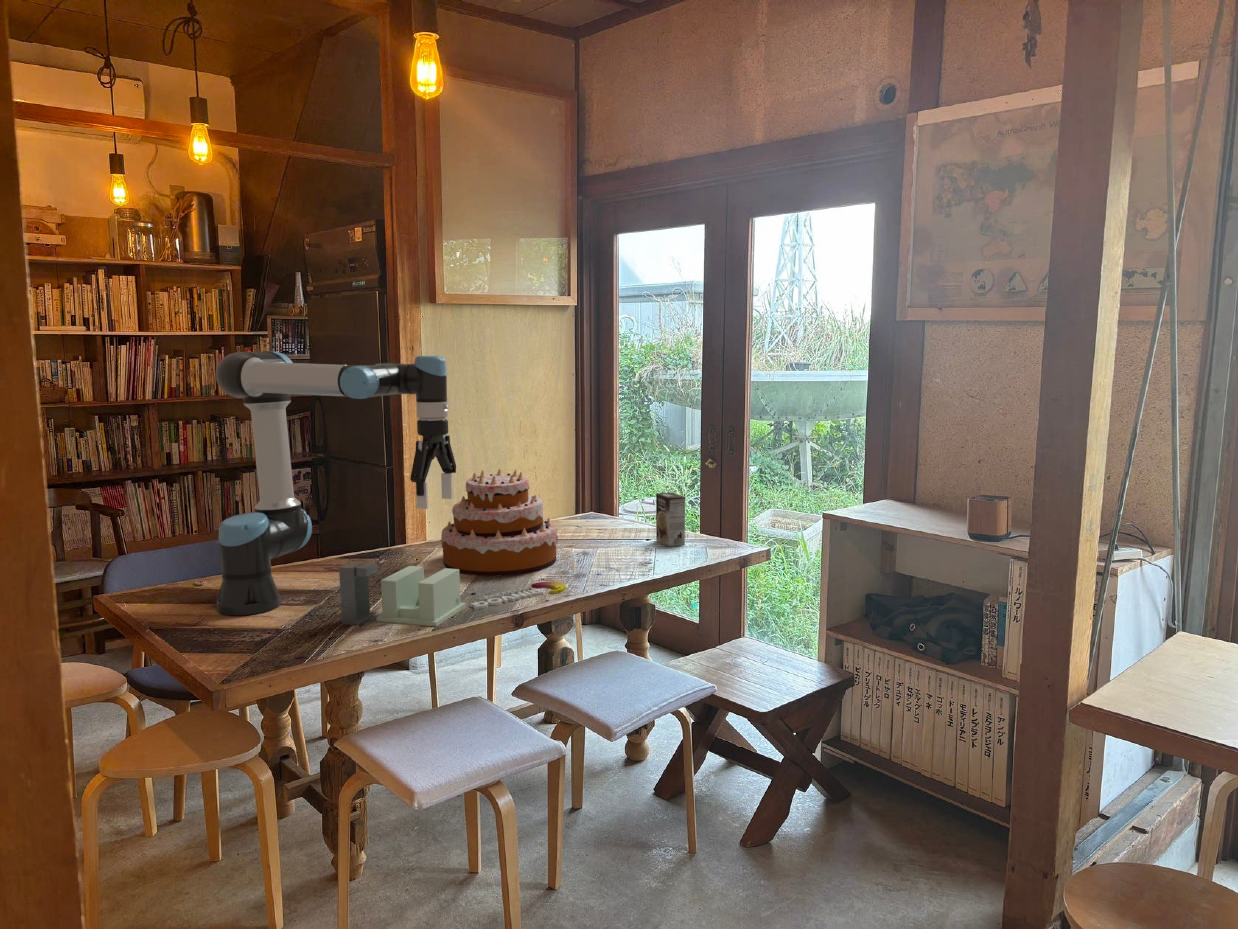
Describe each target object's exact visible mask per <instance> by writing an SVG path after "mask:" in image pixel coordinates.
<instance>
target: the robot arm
mask: <svg viewBox="0 0 1238 929" xmlns="http://www.w3.org/2000/svg"><path fill="white" fill-rule="evenodd" d="M446 364H447V362H446V359H445V357H444V356H442V355H417V356H415V357H414V362H413V363H389V362H386V363H385V362H384V363H383V362H382V363H376V364H373V365H372V364H370V365H366V364H365V365H363V364H361V365H360V364H357V365H354V364H333V363H331V364H330V363H329V364H327V363H303V362H301V363H299V362H293V361H292V360H291V358H289V357H288V356H287V355H286V354H284V353H281V352H278V351H271V350H263V351H241V352H240V351H237V352H233V353H229V354H228V355H227V354H226V355H225V357H223V358H222V359H221V360H220V361H219V362H218V364H217V367H216V369H215V379H216V382H217V385H218V387H219V388H220V390H222V392H223V393H225V394H226V395H227V396H229V397H231V398H232V397H233V398H235V399H242V400H243V406H245V407H246V408H248V409H249V410H250V415H251V426H252V436H253V442H254V443H253V445H254V446H253V447H254V456H255V463H256V464H255V465H256V474H257V483H258V484H257V485H258V493H259V494H258V495H259V501H258V502H257V503H256V505H255V506H254V512H244V513H242V514H236V515H232V516H230V517H228V518H225V519H224V520H223V521H221V523H220V524H219V527H218V543H219V556H220V564H221V565H220V567H221V568H220V569H221V576H222V577H221V578H222V579H221V585H220V587H219V588H220V589H219V592H218V595H217V596H218V597H217V600H216V611H217V612H218V613H219V614H221V615H225V616H248V615H255V614H261V613H266V612H269V611H272V610H274V609H276V608H278V607H279V606H281V603H282V602H281V594H280V591H278V587H277V585H276V583H275V580H274V578H273V574H272V563H271V561H272V560H273V559H276V558H279V557H281V556H284V555H286V554H287V555H288V554H291V553H294V552H296V551H298V550H299V549H301V548H303V547H304V546H306V544H307V543H308V542H309V540H310V539H311V536H312V532H313V525H312V520H311V519H312V518H311V517H310V515H309V514H307V511H306V510H304V509H303V508H302V503H301V501H300V500H298V499H297V498H296V497H295V494H294V481H293V474H292V473H293V472H292V470H293V469H292V460H291V451H290V441H289V430H288V421H287V410H286V408H287V407H288V405H290V404H291V402H292V398H291V395H305V396H327V397H328V396H329V397H349V398H351V399H354V400H355V399H356V400H357V399H358V400H364V399H368V398H374V397H382V396H391V395H415V398H416V400H415V401H416V402H415V403H416V404H415V406H416V418H418V420H417V421H416V429H417V430H416V433H417V435H419V436H422V440H416V442H415V452H414V456H413V462H412V468H411V472H410V478H409V479H410V481H411V483H415V496H416V501H415V502H416V509H420V510H428V509H429V491H428V490H429V488H428V482H427V481H426V480H427V477H428V474H429V471H430V467H431V464H432V462H433V460H435V458H436V460H437V463H438V464H439V466H440V468H441V471H442V473H441V474H440V479H441V485H440V486H441V499H442V500H443V499H445V500H446V499H447V500H453V498H454V494H453V493H454V491H453V474H456V473H457V465H456V460H455V456H454V452H453V450H452V446H451V445H452V444H451V438H450V435H448V434H449V420H448V419H447V417H448V416H449V415H448V414H449V412H448V410H449V405H448V393H447V392H448V390H447V387H448V386H447V382H448V381H447V379H448V378H447V375H448V372H447V365H446Z"/></svg>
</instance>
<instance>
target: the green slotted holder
mask: <svg viewBox="0 0 1238 929" xmlns="http://www.w3.org/2000/svg"><path fill="white" fill-rule="evenodd" d="M424 568H425V567H424V566H420V565H419V566H418V565H416V566H415V565H409V566H407V567H403V568H402V569H400V570H398V571H396V572H394V573H392V574H390V575H388V576H386V577H384V578H382V579H381V580H380V593H381V611H382V612H381V614H380V615H378V616H376V622H384V623H394V624H396V623H397V624H407V625H418V626H430V627H438V626H440V625H441V624H442V623H444V622H445V621H447V620H448V619H450V618H451V617H453V616H454V615H456V614H457V613H459V612H460V611H462V610H464V609H465V608H466V607H467V603H466V602H461V580H460V573H459V569H448V568H446V567H444V568H443V569H441V570H439V571H437V572H435V573H433V574H432V575H430V576H428V577H427V578H425V572H424V570H425V569H424Z"/></svg>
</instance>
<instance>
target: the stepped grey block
mask: <svg viewBox="0 0 1238 929" xmlns="http://www.w3.org/2000/svg"><path fill="white" fill-rule="evenodd" d="M338 571H339V572H338V573H339V574H338V575H339V590H340V593H339V594H340V605H341V606H340V607H341V608H340V610H341V624H342V625H349V626H359V625H360V624H362V623H363V622H366V621H367V620H369V619H371V604H370V585H369V577H370V576H371V575H374V574H375V573H378V572H379V571H378V563H377V562H376V563H375V562H367V561H358V560H357V561H353V560H352V561H351V562H348V563H346V564H343V565H341V566H339V567H338Z"/></svg>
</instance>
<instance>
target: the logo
mask: <svg viewBox="0 0 1238 929" xmlns="http://www.w3.org/2000/svg"><path fill="white" fill-rule="evenodd" d="M540 588H541V589H543V588H546V589H548V588H550V590H549V591H548V594H549V595H553V594H555V595H556V594H560V593H563V592H565V591H566V584H565V583H562V582H559V581H540V582H535V583H532V584H531V585H529V586H525V587H523V586H522V587H521V588H515V589H513V590H512V589H511V590H508V591H502V592H497V593H494V594H490V595H489V596H488V595H486V596H485V595H484V596H480V597H479V598H478V601H475V602H470V607H471V608H473V609H474V611H478V610H480V609H481V610H482V609H486V608H488V607H489V606H500V605H502V604H503V603H504V604H508V603H509V601H510V602H516V601H520V600H521V599H525V600H526V599H528V598H533V597H539V596H542V595H544V591H543V590H539V589H540ZM529 589H530V590H529ZM526 591H527V592H526Z"/></svg>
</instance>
